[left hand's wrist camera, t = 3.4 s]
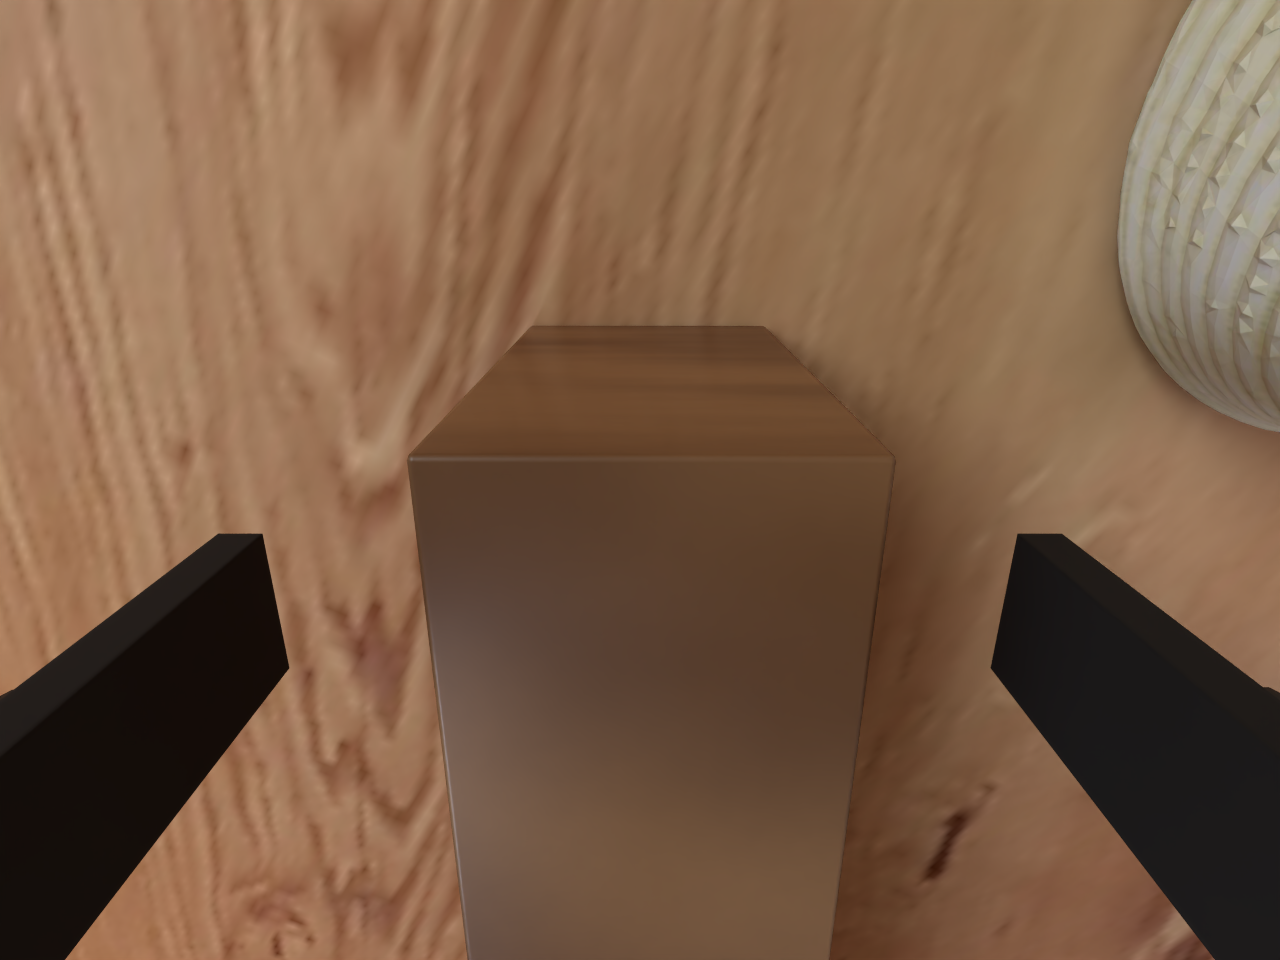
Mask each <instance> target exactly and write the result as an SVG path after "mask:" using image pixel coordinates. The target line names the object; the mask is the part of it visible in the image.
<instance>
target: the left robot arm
mask: <svg viewBox="0 0 1280 960" xmlns="http://www.w3.org/2000/svg"><path fill="white" fill-rule="evenodd" d="M288 669H289V664H288V659H287V654H286V649H285V644H284V639H283V634H282V629H281V624H280V619H279V614H278V609H277V604H276V599H275V594H274V589H273V584H272V579H271V574H270V569H269V564H268V559H267V554H266V549H265V544H264V539H263V534H217V535H216V536H215V537H213V538H212V539H211V540H209V541H208V542H207V543H206V544H204V545H203V546H202V547H200V548H199V549H198V550H196V551H195V552H194V553H192V554H191V555H190V556H188V557H187V558H186V559H185V560H183V561H182V562H181V563H179V564H178V565H177V566H175V567H174V568H173V569H171V570H170V571H169V572H168V573H166V574H165V575H164V576H162V577H161V578H160V579H158V580H157V581H156V582H154V583H153V584H152V585H150V586H149V587H148V588H147V589H145V590H144V591H143V592H141V593H140V594H139V595H137V596H136V597H135V598H133V599H132V600H131V601H129V602H128V603H127V604H126V605H124V606H123V607H122V608H120V609H119V610H118V611H116V612H115V613H114V614H112V615H111V616H110V617H109V618H107V619H106V620H105V621H103V622H102V623H101V624H99V625H98V626H97V627H95V628H94V629H93V630H91V631H90V632H89V633H88V634H86V635H85V636H84V637H82V638H81V639H80V640H78V641H77V642H76V643H74V644H73V645H72V646H70V647H69V648H68V649H67V650H65V651H64V652H63V653H61V654H60V655H59V656H57V657H56V658H55V659H53V660H52V661H51V662H50V663H48V664H47V665H46V666H44V667H43V668H42V669H40V670H39V671H38V672H36V673H35V674H34V675H32V676H31V677H30V678H29V679H27V680H26V681H25V682H23V683H22V684H21V685H19V686H18V687H17V688H15V689H14V690H11V691H9V692H7V693H5V694H3V695H1V696H0V960H65V959H66V958H67V956H68V955H69V954H70V952H71V951H72V950H73V949H74V947H75V946H76V945H77V943H78V942H79V941H80V939H81V938H82V937H83V936H84V934H85V933H86V932H87V930H88V929H89V928H90V926H91V925H92V924H93V923H94V921H95V920H96V919H97V917H98V916H99V915H100V913H101V912H102V911H103V910H104V908H105V907H106V906H107V904H108V903H109V902H110V900H111V899H112V898H113V897H114V895H115V894H116V893H117V891H118V890H119V889H120V887H121V886H122V885H123V884H124V882H125V881H126V880H127V878H128V877H129V876H130V874H131V873H132V872H133V871H134V869H135V868H136V867H137V865H138V864H139V863H140V861H141V860H142V859H143V858H144V856H145V855H146V854H147V852H148V851H149V850H150V848H151V847H152V846H153V845H154V843H155V842H156V841H157V839H158V838H159V837H160V835H161V834H162V833H163V832H164V830H165V829H166V828H167V826H168V825H169V824H170V822H171V821H172V820H173V819H174V817H175V816H176V815H177V813H178V812H179V811H180V809H181V808H182V807H183V806H184V804H185V803H186V802H187V800H188V799H189V798H190V796H191V795H192V794H193V793H194V791H195V790H196V789H197V787H198V786H199V785H200V783H201V782H202V781H203V780H204V778H205V777H206V776H207V774H208V773H209V772H210V770H211V769H212V768H213V767H214V765H215V764H216V763H217V761H218V760H219V759H220V757H221V756H222V755H223V754H224V752H225V751H226V750H227V748H228V747H229V746H230V744H231V743H232V742H233V741H234V739H235V738H236V737H237V735H238V734H239V733H240V731H241V730H242V729H243V728H244V726H245V725H246V724H247V722H248V721H249V720H250V718H251V717H252V716H253V715H254V713H255V712H256V711H257V709H258V708H259V707H260V705H261V704H262V703H263V702H264V700H265V699H266V698H267V696H268V695H269V694H270V692H271V691H272V690H273V689H274V687H275V686H276V685H277V683H278V682H279V681H280V679H281V678H282V677H283V676H284V674H285V673H286V672H287V670H288ZM991 669H992V670H993V672H994V673H995V674H996V676H997V677H998V678H999V679H1000V681H1001V682H1002V683H1003V685H1004V686H1005V687H1006V689H1007V690H1008V691H1009V692H1010V694H1011V695H1012V696H1013V698H1014V699H1015V700H1016V702H1017V703H1018V704H1019V705H1020V707H1021V708H1022V709H1023V711H1024V712H1025V713H1026V715H1027V716H1028V717H1029V718H1030V720H1031V721H1032V722H1033V724H1034V725H1035V726H1036V728H1037V729H1038V730H1039V731H1040V733H1041V734H1042V735H1043V737H1044V738H1045V739H1046V741H1047V742H1048V743H1049V744H1050V746H1051V747H1052V748H1053V750H1054V751H1055V752H1056V754H1057V755H1058V756H1059V757H1060V759H1061V760H1062V761H1063V763H1064V764H1065V765H1066V767H1067V768H1068V769H1069V770H1070V772H1071V773H1072V774H1073V776H1074V777H1075V778H1076V780H1077V781H1078V782H1079V783H1080V785H1081V786H1082V787H1083V789H1084V790H1085V791H1086V793H1087V794H1088V795H1089V796H1090V798H1091V799H1092V800H1093V802H1094V803H1095V804H1096V806H1097V807H1098V808H1099V809H1100V811H1101V812H1102V813H1103V815H1104V816H1105V817H1106V819H1107V820H1108V821H1109V822H1110V824H1111V825H1112V826H1113V828H1114V829H1115V830H1116V832H1117V833H1118V834H1119V835H1120V837H1121V838H1122V839H1123V841H1124V842H1125V843H1126V845H1127V846H1128V847H1129V848H1130V850H1131V851H1132V852H1133V854H1134V855H1135V856H1136V858H1137V859H1138V860H1139V861H1140V863H1141V864H1142V865H1143V867H1144V868H1145V869H1146V871H1147V872H1148V873H1149V874H1150V876H1151V877H1152V878H1153V880H1154V881H1155V882H1156V884H1157V885H1158V886H1159V887H1160V889H1161V890H1162V891H1163V893H1164V894H1165V895H1166V897H1167V898H1168V899H1169V900H1170V902H1171V903H1172V904H1173V906H1174V907H1175V908H1176V910H1177V911H1178V912H1179V913H1180V915H1181V916H1182V917H1183V919H1184V920H1185V921H1186V923H1187V924H1188V925H1189V926H1190V928H1191V929H1192V930H1193V932H1194V933H1195V934H1196V936H1197V937H1198V938H1199V939H1200V941H1201V942H1202V943H1203V945H1204V946H1205V947H1206V949H1207V950H1208V951H1209V952H1210V954H1211V955H1212V956H1213V958H1214V959H1215V960H1280V693H1279V692H1277V691H1275V690H1273V689H1271V688H1269V687H1262V686H1261V685H1259V684H1258V683H1257V682H1255V681H1254V680H1253V679H1251V678H1250V677H1249V676H1248V675H1246V674H1245V673H1244V672H1242V671H1241V670H1240V669H1238V668H1237V667H1236V666H1234V665H1233V664H1232V663H1230V662H1229V661H1228V660H1227V659H1225V658H1224V657H1223V656H1221V655H1220V654H1219V653H1217V652H1216V651H1215V650H1213V649H1212V648H1211V647H1210V646H1208V645H1207V644H1206V643H1204V642H1203V641H1202V640H1200V639H1199V638H1198V637H1196V636H1195V635H1194V634H1192V633H1191V632H1190V631H1189V630H1187V629H1186V628H1185V627H1183V626H1182V625H1181V624H1179V623H1178V622H1177V621H1175V620H1174V619H1173V618H1171V617H1170V616H1169V615H1168V614H1166V613H1165V612H1164V611H1162V610H1161V609H1160V608H1158V607H1157V606H1156V605H1154V604H1153V603H1152V602H1151V601H1149V600H1148V599H1147V598H1145V597H1144V596H1143V595H1141V594H1140V593H1139V592H1137V591H1136V590H1135V589H1133V588H1132V587H1131V586H1130V585H1128V584H1127V583H1126V582H1124V581H1123V580H1122V579H1120V578H1119V577H1118V576H1116V575H1115V574H1114V573H1112V572H1111V571H1110V570H1109V569H1107V568H1106V567H1105V566H1103V565H1102V564H1101V563H1099V562H1098V561H1097V560H1095V559H1094V558H1093V557H1092V556H1090V555H1089V554H1088V553H1086V552H1085V551H1084V550H1082V549H1081V548H1080V547H1078V546H1077V545H1076V544H1074V543H1073V542H1072V541H1071V540H1069V539H1068V538H1067V537H1065V536H1064V535H1063V534H1017V539H1016V544H1015V549H1014V554H1013V559H1012V564H1011V569H1010V574H1009V579H1008V584H1007V589H1006V594H1005V599H1004V604H1003V609H1002V614H1001V619H1000V624H999V629H998V634H997V639H996V644H995V649H994V654H993V659H992V664H991Z"/></svg>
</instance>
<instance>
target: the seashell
mask: <svg viewBox="0 0 1280 960" xmlns="http://www.w3.org/2000/svg"><path fill="white" fill-rule="evenodd" d="M1117 242H1118V259H1119V269H1120V275H1121V279H1122V284H1123V288H1124V293H1125V297H1126V302H1127V305H1128V308H1129V311H1130V313H1131V316H1132V319H1133V322H1134V324H1135V327H1136V329H1137V331H1138V333H1139V335H1140V337H1141V338H1142V340H1143V341H1144V343H1145V344H1146V346H1147V348H1148V349H1149V351H1150V352H1151V353H1152V355H1153V356H1154V358H1155V359H1156V360H1157V362H1158V363H1159V364H1160V366H1161V367H1162V368H1163V370H1164V371H1165V372H1166V373H1167V374H1168V375H1169V376H1170V377H1171V378H1172V379H1173V380H1174V381H1175V382H1176V383H1177V384H1178V385H1179V386H1181V387H1182V388H1183V389H1184V390H1186V391H1187V392H1188V393H1190V394H1191V395H1192V396H1194V397H1195V398H1196V399H1198V400H1199V401H1200V402H1202V403H1204V404H1206V405H1207V406H1209V407H1211V408H1213V409H1214V410H1216V411H1218V412H1220V413H1222V414H1224V415H1227V416H1229V417H1231V418H1233V419H1236V420H1238V421H1240V422H1243V423H1246V424H1249V425H1252V426H1255V427H1258V428H1261V429H1265V430H1270V431H1275V432H1280V0H1192V2H1191V4H1190V5H1189V7H1188V9H1187V10H1186V12H1185V14H1184V15H1183V17H1182V19H1181V21H1180V22H1179V24H1178V27H1177V29H1176V31H1175V33H1174V35H1173V37H1172V39H1171V41H1170V43H1169V46H1168V48H1167V50H1166V52H1165V54H1164V56H1163V59H1162V61H1161V64H1160V66H1159V69H1158V71H1157V74H1156V76H1155V79H1154V81H1153V83H1152V85H1151V88H1150V90H1149V92H1148V94H1147V96H1146V99H1145V102H1144V104H1143V107H1142V110H1141V113H1140V115H1139V118H1138V121H1137V123H1136V126H1135V129H1134V132H1133V134H1132V137H1131V140H1130V142H1129V147H1128V154H1127V160H1126V165H1125V171H1124V176H1123V182H1122V188H1121V194H1120V211H1119V219H1118V230H1117Z"/></svg>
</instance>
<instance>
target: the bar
mask: <svg viewBox="0 0 1280 960" xmlns="http://www.w3.org/2000/svg"><path fill="white" fill-rule="evenodd" d="M407 463H408V472H409V480H410V488H411V496H412V505H413V513H414V521H415V529H416V538H417V546H418V554H419V562H420V570H421V579H422V587H423V595H424V603H425V612H426V620H427V628H428V636H429V645H430V653H431V661H432V669H433V678H434V686H435V694H436V702H437V711H438V719H439V727H440V735H441V744H442V752H443V760H444V768H445V776H446V785H447V793H448V801H449V809H450V818H451V826H452V834H453V842H454V851H455V859H456V867H457V875H458V884H459V892H460V900H461V908H462V917H463V925H464V933H465V941H466V950H467V958H468V960H829V958H830V951H831V943H832V936H833V928H834V921H835V913H836V906H837V898H838V891H839V883H840V876H841V868H842V861H843V853H844V846H845V838H846V831H847V823H848V816H849V808H850V801H851V793H852V786H853V778H854V771H855V763H856V756H857V748H858V741H859V733H860V726H861V718H862V711H863V703H864V696H865V688H866V681H867V673H868V666H869V658H870V650H871V643H872V635H873V628H874V620H875V613H876V605H877V598H878V590H879V583H880V575H881V568H882V560H883V553H884V545H885V538H886V530H887V523H888V515H889V508H890V500H891V493H892V485H893V478H894V470H895V463H896V461H895V457H894V455H893V454H892V453H891V452H890V451H889V450H888V449H887V448H886V447H885V446H884V445H883V444H882V443H881V442H880V441H879V440H878V439H877V438H876V437H875V436H874V435H873V434H872V433H871V432H870V431H869V430H868V429H867V428H866V427H865V426H864V425H863V424H861V423H860V422H859V421H858V420H857V419H856V418H855V417H854V416H853V415H852V414H851V413H850V412H849V411H848V410H847V409H846V408H845V407H844V406H843V405H842V404H841V403H840V402H839V401H838V400H837V399H836V398H835V397H834V396H833V395H832V394H831V393H830V392H829V391H828V390H827V389H826V388H825V387H824V386H823V385H822V384H821V383H820V382H819V381H818V380H817V379H816V378H815V377H814V376H813V375H812V374H811V373H810V372H809V371H808V370H807V369H806V368H805V367H804V366H803V365H802V364H801V363H800V362H799V361H798V360H797V359H796V358H795V357H794V356H793V355H792V354H791V353H790V352H789V351H788V350H787V349H786V348H785V347H784V346H783V345H782V344H781V343H780V342H779V341H778V340H777V339H776V338H775V337H774V336H773V335H772V334H771V333H770V332H769V331H768V330H767V329H766V328H765V327H763V326H532V327H530V328H529V329H528V330H527V331H526V332H525V333H524V335H523V336H522V337H521V338H520V339H519V340H518V341H517V342H516V343H515V344H514V345H513V346H512V347H511V348H510V349H509V350H508V351H507V352H506V353H505V355H504V356H503V357H502V358H501V359H500V360H499V361H498V362H497V363H496V364H495V365H494V366H493V367H492V368H491V369H490V370H489V371H488V372H487V373H486V374H485V376H484V377H483V378H482V379H481V380H480V381H479V382H478V383H477V384H476V385H475V386H474V387H473V388H472V389H471V390H470V391H469V392H468V393H467V394H466V395H465V397H464V398H463V399H462V400H461V401H460V402H459V403H458V404H457V405H456V406H455V407H454V408H453V409H452V410H451V411H450V412H449V413H448V414H447V415H446V417H445V418H444V419H443V420H442V421H441V422H440V423H439V424H438V425H437V426H436V427H435V428H434V429H433V430H432V431H431V432H430V433H429V434H428V435H427V436H426V438H425V439H424V440H423V441H422V442H421V443H420V444H419V445H418V446H417V447H416V448H415V449H414V450H413V451H412V452H411V453H410V454H409V456H408V459H407Z"/></svg>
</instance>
